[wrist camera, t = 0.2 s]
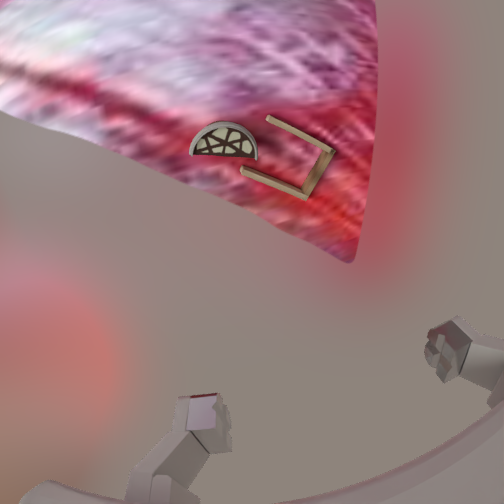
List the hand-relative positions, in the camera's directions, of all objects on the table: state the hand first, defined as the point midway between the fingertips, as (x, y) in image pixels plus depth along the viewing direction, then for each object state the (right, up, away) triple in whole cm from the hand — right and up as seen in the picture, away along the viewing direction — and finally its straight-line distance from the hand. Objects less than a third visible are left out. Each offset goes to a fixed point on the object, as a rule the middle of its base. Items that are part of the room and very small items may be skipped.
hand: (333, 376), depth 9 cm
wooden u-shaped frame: (+4, +25, +47) cm, 54 cm away
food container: (-9, +29, +42) cm, 52 cm away
